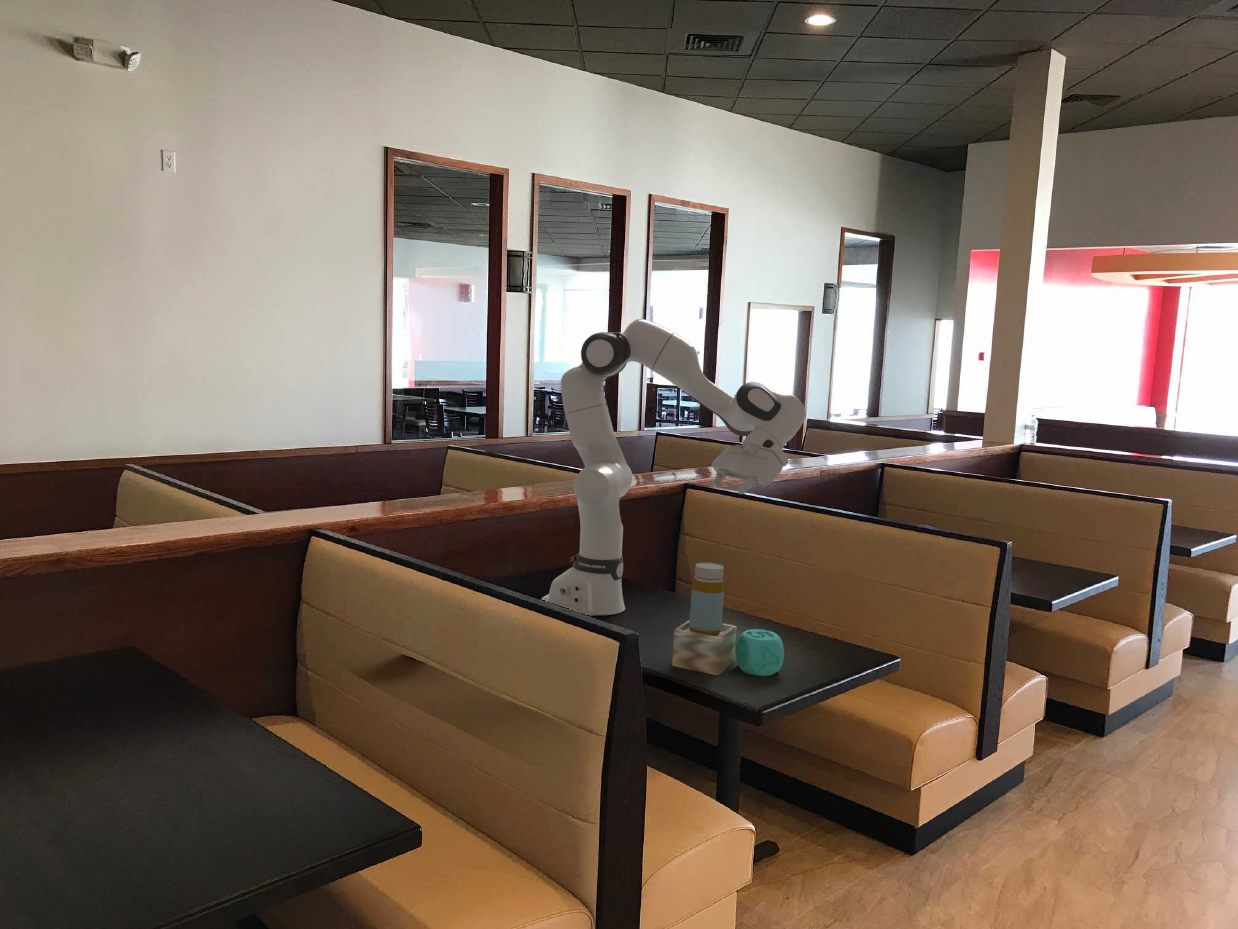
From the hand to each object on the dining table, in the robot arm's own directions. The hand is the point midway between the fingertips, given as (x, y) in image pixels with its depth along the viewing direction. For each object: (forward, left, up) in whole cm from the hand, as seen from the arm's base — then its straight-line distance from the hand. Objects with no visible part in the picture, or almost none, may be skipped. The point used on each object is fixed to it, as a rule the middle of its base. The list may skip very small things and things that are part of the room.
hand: (726, 489), depth 226 cm
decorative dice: (+18, -23, -36) cm, 46 cm away
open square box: (+6, -26, -35) cm, 44 cm away
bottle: (+6, -26, -28) cm, 39 cm away
